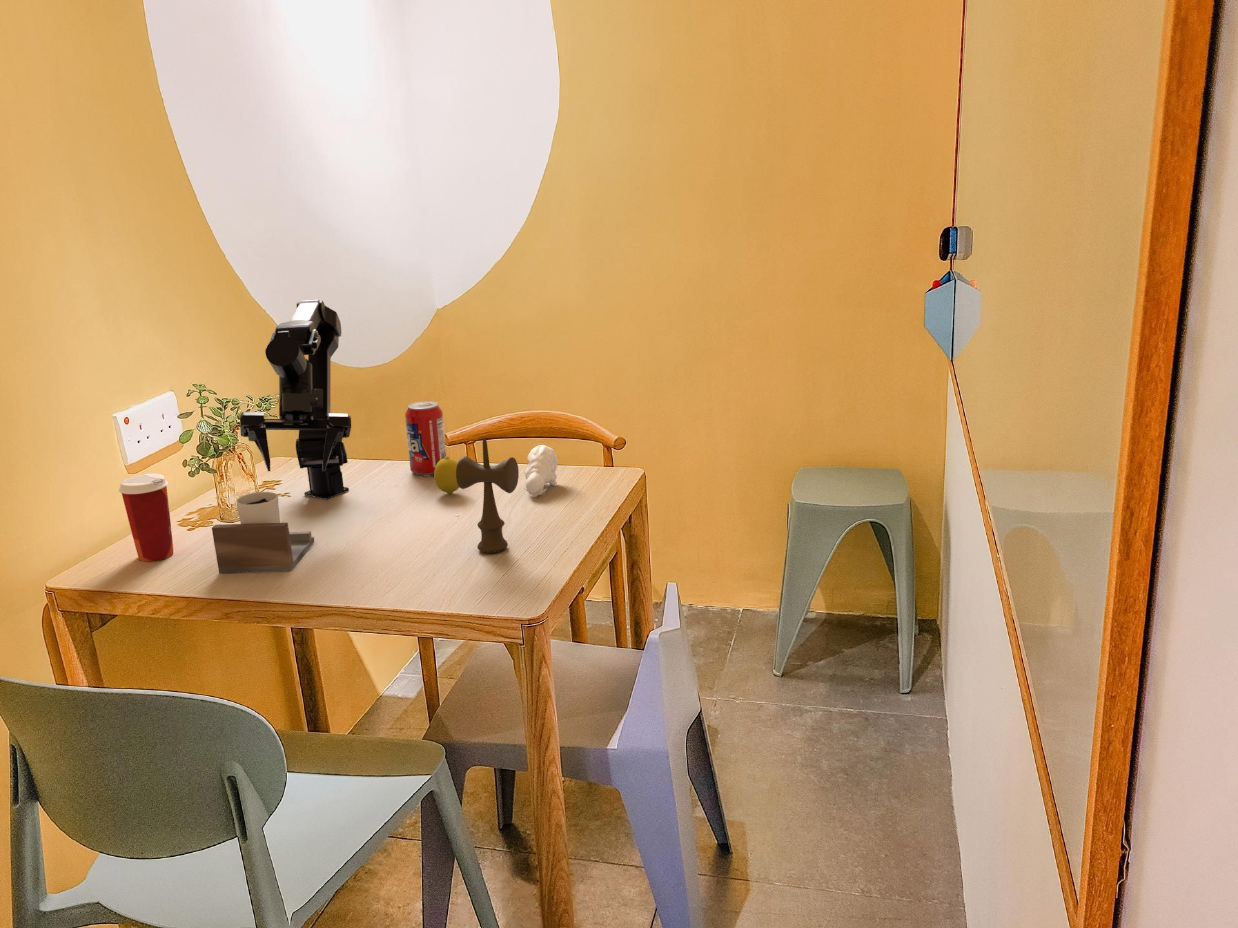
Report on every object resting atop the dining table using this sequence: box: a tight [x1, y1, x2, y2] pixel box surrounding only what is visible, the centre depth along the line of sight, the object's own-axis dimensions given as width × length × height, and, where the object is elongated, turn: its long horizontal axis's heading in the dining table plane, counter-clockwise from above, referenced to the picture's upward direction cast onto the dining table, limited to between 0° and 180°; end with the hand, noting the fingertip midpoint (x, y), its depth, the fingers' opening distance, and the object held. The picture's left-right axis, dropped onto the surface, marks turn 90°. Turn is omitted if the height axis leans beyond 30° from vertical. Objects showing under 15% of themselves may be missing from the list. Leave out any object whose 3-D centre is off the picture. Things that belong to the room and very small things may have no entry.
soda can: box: [404, 401, 447, 477], centre depth 214 cm, size 8×8×15 cm
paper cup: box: [118, 473, 174, 563], centre depth 172 cm, size 8×8×14 cm
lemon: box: [433, 455, 459, 496], centre depth 200 cm, size 6×6×8 cm
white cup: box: [235, 491, 281, 524], centre depth 169 cm, size 7×7×10 cm
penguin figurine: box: [523, 444, 559, 498], centre depth 200 cm, size 6×8×12 cm
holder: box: [211, 522, 315, 574], centre depth 171 cm, size 13×12×8 cm
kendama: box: [456, 437, 520, 554], centre depth 169 cm, size 6×10×20 cm, turn 74°
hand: (296, 470), depth 177 cm, fingers open, 9 cm apart
